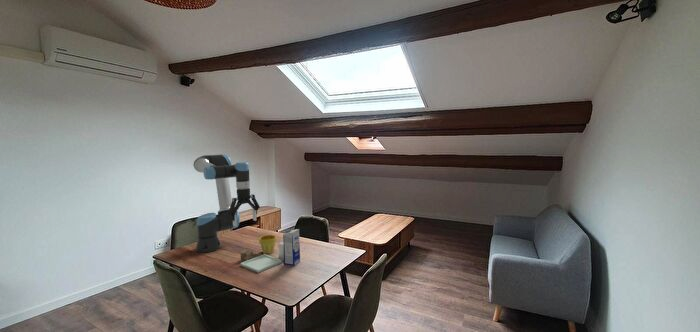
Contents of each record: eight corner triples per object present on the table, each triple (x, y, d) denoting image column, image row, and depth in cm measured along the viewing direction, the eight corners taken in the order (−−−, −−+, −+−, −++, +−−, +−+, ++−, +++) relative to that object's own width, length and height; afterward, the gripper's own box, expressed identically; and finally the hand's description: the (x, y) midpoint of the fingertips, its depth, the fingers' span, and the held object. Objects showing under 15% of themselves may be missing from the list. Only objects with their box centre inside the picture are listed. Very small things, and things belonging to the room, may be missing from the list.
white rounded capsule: (276, 258, 178) (275, 243, 177) (285, 254, 184) (284, 240, 183) (284, 260, 174) (283, 246, 173) (292, 256, 179) (292, 242, 179)
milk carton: (294, 266, 166) (292, 232, 164) (283, 264, 168) (282, 231, 166) (300, 261, 172) (299, 228, 171) (290, 260, 175) (289, 227, 173)
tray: (240, 265, 168) (240, 263, 168) (264, 256, 181) (264, 253, 181) (258, 272, 158) (258, 270, 158) (282, 262, 172) (282, 259, 171)
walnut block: (240, 260, 175) (240, 252, 175) (246, 257, 180) (246, 249, 180) (247, 261, 174) (247, 253, 173) (253, 258, 178) (252, 250, 178)
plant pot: (271, 255, 182) (271, 240, 181) (256, 254, 184) (256, 239, 183) (279, 249, 192) (278, 235, 191) (264, 248, 194) (264, 234, 193)
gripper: (227, 191, 161) (229, 229, 163) (264, 185, 181) (266, 219, 182) (219, 190, 165) (222, 227, 167) (257, 184, 185) (258, 217, 187)
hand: (245, 223), depth 175 cm, fingers open, 13 cm apart
